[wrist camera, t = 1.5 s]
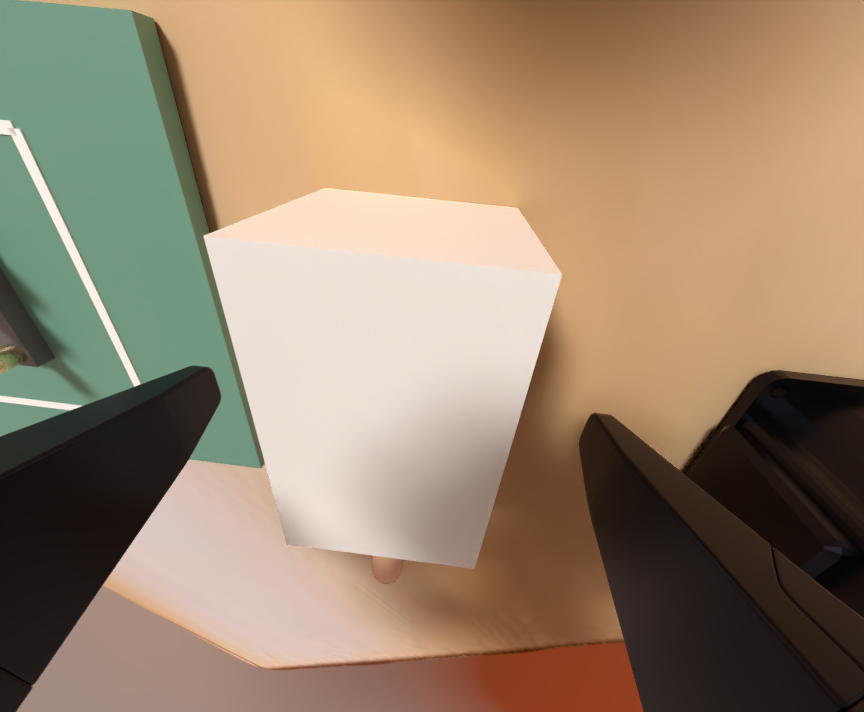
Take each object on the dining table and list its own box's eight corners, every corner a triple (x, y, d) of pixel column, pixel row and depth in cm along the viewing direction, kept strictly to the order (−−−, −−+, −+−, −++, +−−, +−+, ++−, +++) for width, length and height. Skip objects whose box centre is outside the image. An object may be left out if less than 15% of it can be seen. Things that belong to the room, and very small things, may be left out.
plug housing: (517, 207, 9) (562, 274, 5) (460, 488, 15) (458, 624, 11) (325, 187, 9) (202, 235, 5) (347, 474, 15) (303, 603, 11)
